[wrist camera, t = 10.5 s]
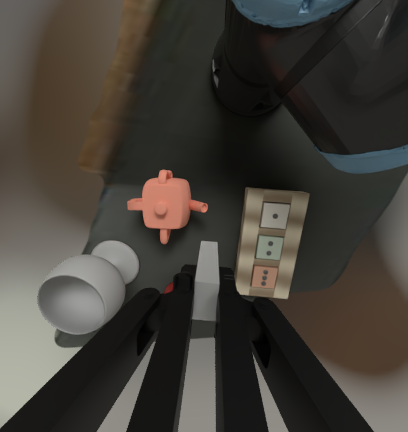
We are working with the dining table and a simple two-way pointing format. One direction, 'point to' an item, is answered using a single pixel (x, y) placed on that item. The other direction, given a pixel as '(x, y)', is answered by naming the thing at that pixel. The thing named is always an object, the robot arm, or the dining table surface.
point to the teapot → (166, 204)
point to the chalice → (88, 288)
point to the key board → (252, 229)
